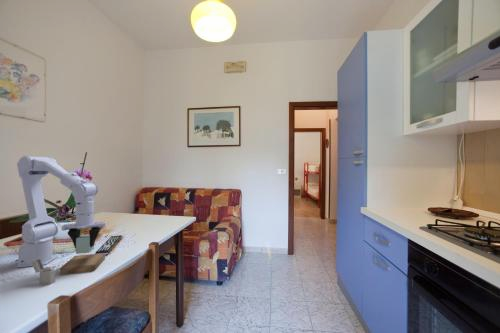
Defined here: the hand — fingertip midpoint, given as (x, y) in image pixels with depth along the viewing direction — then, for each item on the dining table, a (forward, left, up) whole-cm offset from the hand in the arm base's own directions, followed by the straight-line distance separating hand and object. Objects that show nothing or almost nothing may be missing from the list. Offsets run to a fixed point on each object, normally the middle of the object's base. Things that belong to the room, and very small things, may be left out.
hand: (84, 246), depth 84 cm
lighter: (-8, -10, -8) cm, 15 cm away
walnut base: (0, 0, -8) cm, 8 cm away
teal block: (0, +1, -2) cm, 2 cm away
